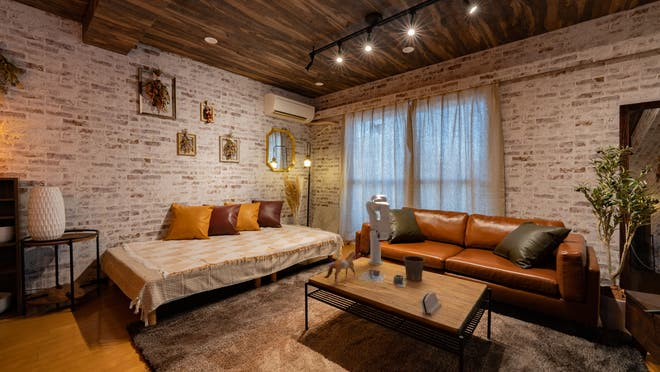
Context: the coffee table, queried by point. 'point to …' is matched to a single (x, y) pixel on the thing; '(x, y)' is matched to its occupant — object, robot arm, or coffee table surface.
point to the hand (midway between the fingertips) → (384, 239)
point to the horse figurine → (342, 266)
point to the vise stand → (372, 276)
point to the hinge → (430, 303)
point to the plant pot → (414, 267)
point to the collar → (398, 279)
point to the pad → (402, 284)
